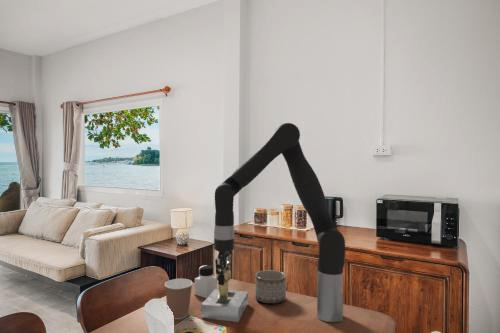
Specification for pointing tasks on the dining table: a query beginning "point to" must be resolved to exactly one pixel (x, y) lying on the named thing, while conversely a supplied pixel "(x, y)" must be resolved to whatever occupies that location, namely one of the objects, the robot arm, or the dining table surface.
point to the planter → (270, 286)
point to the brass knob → (224, 288)
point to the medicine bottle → (205, 281)
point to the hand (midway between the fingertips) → (223, 281)
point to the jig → (225, 306)
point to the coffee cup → (178, 296)
